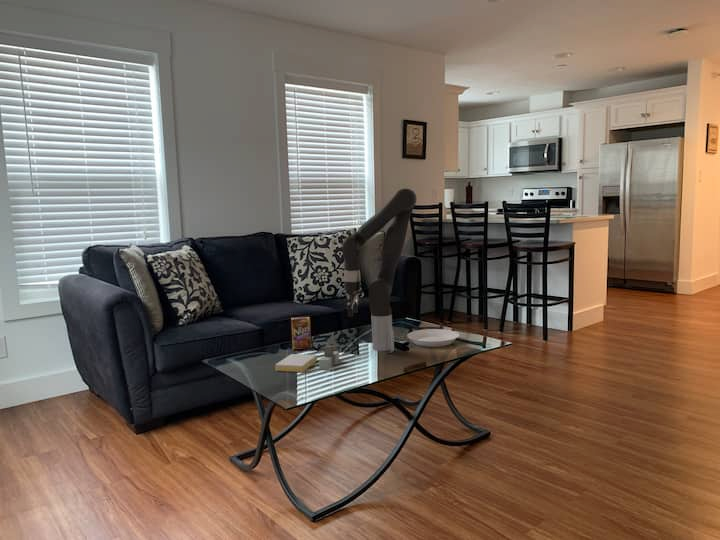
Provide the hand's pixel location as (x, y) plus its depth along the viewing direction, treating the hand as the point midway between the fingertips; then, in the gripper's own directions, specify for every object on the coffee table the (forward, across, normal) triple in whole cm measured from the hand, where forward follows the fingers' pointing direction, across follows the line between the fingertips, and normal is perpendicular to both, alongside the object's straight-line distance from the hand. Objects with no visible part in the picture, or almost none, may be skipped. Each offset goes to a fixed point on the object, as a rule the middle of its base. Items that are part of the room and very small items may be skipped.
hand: (352, 314), depth 256 cm
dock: (+18, -29, +16) cm, 38 cm away
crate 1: (+16, -32, +3) cm, 35 cm away
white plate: (+16, +20, -35) cm, 43 cm away
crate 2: (+16, -22, +3) cm, 28 cm away
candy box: (+18, +2, +26) cm, 32 cm away
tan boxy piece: (+18, -27, +3) cm, 32 cm away
